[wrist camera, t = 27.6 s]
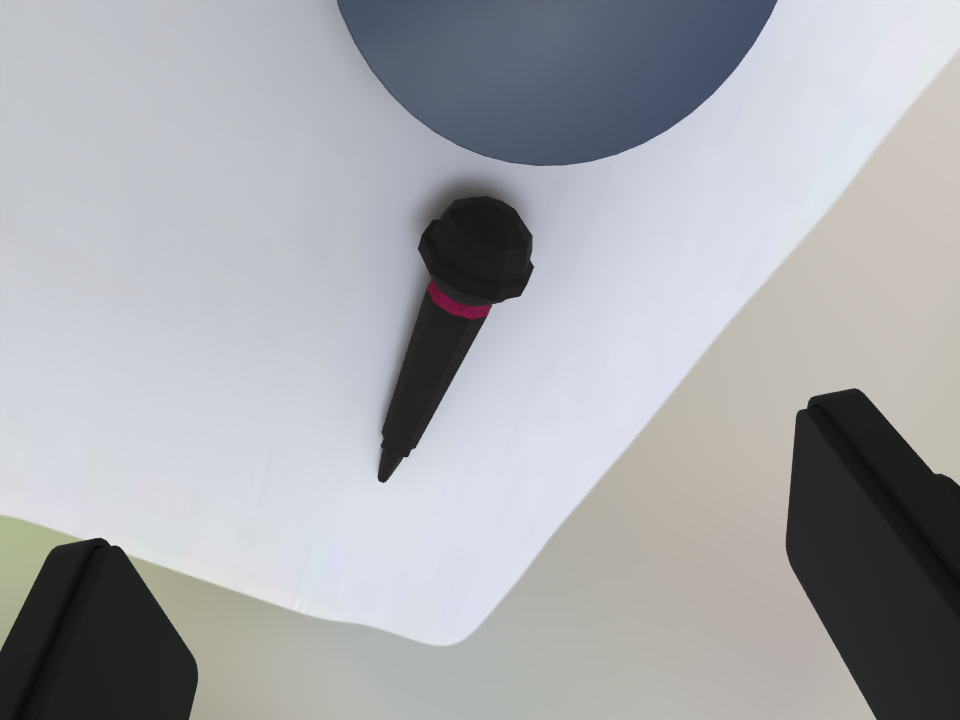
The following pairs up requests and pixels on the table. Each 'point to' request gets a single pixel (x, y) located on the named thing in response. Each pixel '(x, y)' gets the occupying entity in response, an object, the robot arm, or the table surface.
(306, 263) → the table surface
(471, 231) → the microphone
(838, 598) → the robot arm
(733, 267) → the table surface
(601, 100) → the tin lid
